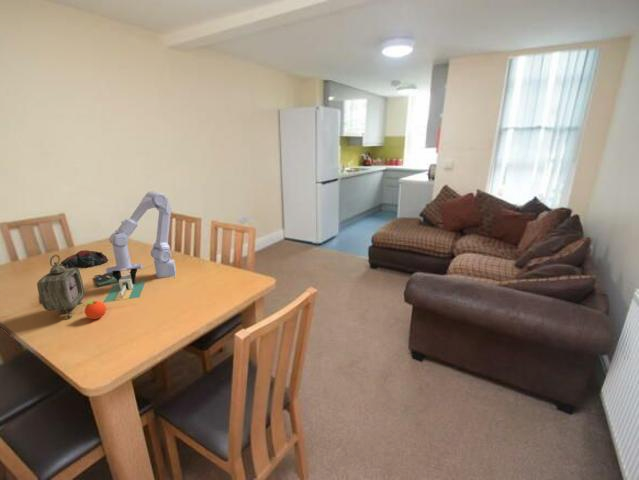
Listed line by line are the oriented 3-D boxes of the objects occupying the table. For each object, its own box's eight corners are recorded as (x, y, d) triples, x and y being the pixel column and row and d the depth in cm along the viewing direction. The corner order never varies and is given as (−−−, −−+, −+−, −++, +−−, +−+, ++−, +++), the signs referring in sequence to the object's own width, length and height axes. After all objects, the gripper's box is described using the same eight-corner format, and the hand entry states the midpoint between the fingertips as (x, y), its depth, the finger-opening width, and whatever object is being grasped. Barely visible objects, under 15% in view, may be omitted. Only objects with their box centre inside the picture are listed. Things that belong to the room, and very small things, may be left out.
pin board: (146, 282, 156) (144, 274, 155) (139, 299, 139) (138, 291, 138) (113, 286, 152) (112, 279, 150) (103, 304, 135) (101, 296, 133)
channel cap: (135, 282, 154) (133, 272, 153) (131, 289, 147) (130, 279, 145) (124, 283, 153) (122, 274, 151) (120, 290, 145) (118, 280, 144)
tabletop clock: (72, 319, 123) (57, 260, 115) (45, 323, 120) (27, 263, 113) (87, 302, 136) (74, 248, 129) (63, 305, 134) (48, 250, 126)
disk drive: (95, 280, 160) (98, 290, 149) (93, 275, 159) (97, 285, 148) (118, 275, 166) (123, 284, 155) (117, 270, 165) (122, 279, 154)
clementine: (81, 324, 120) (77, 308, 118) (85, 315, 126) (81, 300, 124) (105, 320, 123) (102, 304, 121) (109, 311, 129) (105, 296, 127)
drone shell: (112, 262, 183) (109, 249, 181) (72, 273, 168) (69, 259, 165) (96, 255, 195) (94, 243, 192) (58, 264, 179) (55, 251, 177)
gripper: (102, 262, 139) (108, 290, 143) (138, 258, 144) (143, 285, 148) (106, 257, 146) (111, 284, 150) (141, 253, 150) (145, 279, 154)
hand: (127, 284), depth 149 cm, fingers closed on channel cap, 5 cm apart
